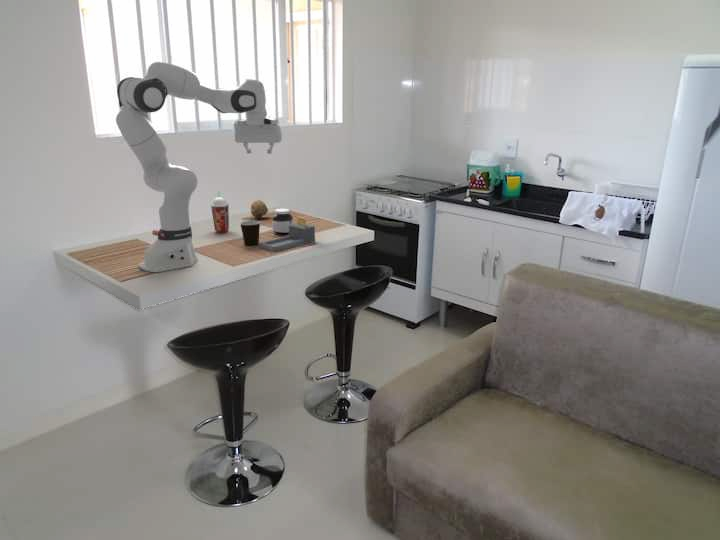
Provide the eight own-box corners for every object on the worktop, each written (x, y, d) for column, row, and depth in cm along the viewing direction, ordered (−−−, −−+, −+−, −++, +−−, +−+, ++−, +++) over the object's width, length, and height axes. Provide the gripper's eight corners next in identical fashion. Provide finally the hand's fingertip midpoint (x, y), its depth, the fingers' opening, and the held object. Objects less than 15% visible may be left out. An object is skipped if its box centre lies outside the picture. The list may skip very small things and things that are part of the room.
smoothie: (234, 231, 267) (231, 191, 260) (221, 234, 260) (218, 193, 254) (222, 228, 271) (219, 189, 265) (209, 232, 264) (206, 192, 258)
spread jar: (283, 236, 257) (282, 212, 253) (264, 233, 262) (263, 210, 258) (298, 231, 266) (297, 208, 263) (280, 228, 272) (278, 205, 268)
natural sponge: (270, 216, 297) (269, 199, 294) (265, 220, 289) (264, 202, 286) (254, 216, 298) (253, 198, 295) (249, 219, 290) (247, 201, 287)
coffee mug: (256, 247, 239) (255, 225, 236) (238, 246, 240) (237, 224, 237) (266, 240, 250) (265, 219, 246) (249, 239, 251) (247, 218, 248)
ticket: (304, 237, 247) (304, 218, 244) (297, 235, 250) (297, 216, 247) (306, 237, 248) (305, 218, 245) (299, 235, 251) (298, 216, 248)
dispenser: (274, 251, 232) (273, 234, 230) (260, 247, 238) (259, 231, 236) (314, 241, 249) (314, 225, 246) (300, 237, 255) (300, 221, 253)
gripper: (230, 120, 225) (233, 154, 230) (276, 120, 221) (279, 154, 226) (236, 119, 231) (239, 152, 235) (281, 119, 227) (284, 152, 232)
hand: (259, 153), depth 231 cm, fingers open, 8 cm apart
